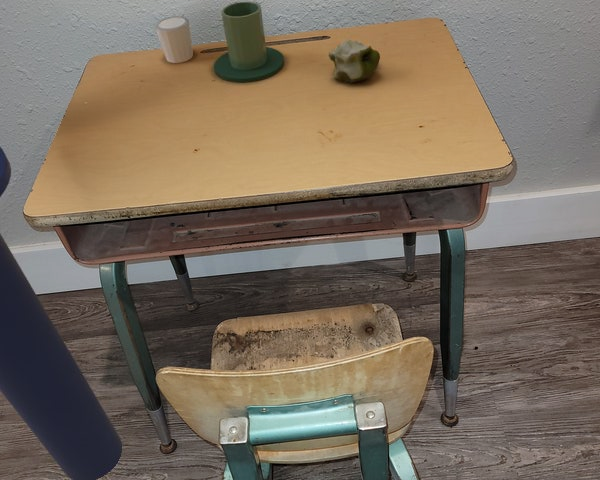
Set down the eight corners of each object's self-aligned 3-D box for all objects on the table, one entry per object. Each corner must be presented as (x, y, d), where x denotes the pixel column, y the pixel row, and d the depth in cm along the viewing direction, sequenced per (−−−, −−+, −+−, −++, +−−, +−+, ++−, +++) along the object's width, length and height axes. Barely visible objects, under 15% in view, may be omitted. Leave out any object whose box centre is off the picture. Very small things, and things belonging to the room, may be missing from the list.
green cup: (239, 73, 115) (231, 20, 108) (224, 60, 120) (215, 8, 112) (273, 62, 117) (267, 10, 110) (257, 49, 122) (250, -2, 114)
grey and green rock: (383, 90, 110) (380, 52, 103) (333, 97, 111) (327, 61, 105) (378, 58, 115) (376, 20, 108) (331, 66, 116) (325, 29, 110)
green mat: (232, 89, 112) (231, 85, 112) (203, 63, 121) (203, 59, 121) (296, 68, 116) (296, 64, 116) (264, 43, 125) (264, 39, 125)
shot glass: (197, 61, 122) (189, 26, 117) (163, 66, 122) (155, 32, 117) (194, 47, 127) (187, 13, 122) (162, 52, 126) (154, 18, 121)
